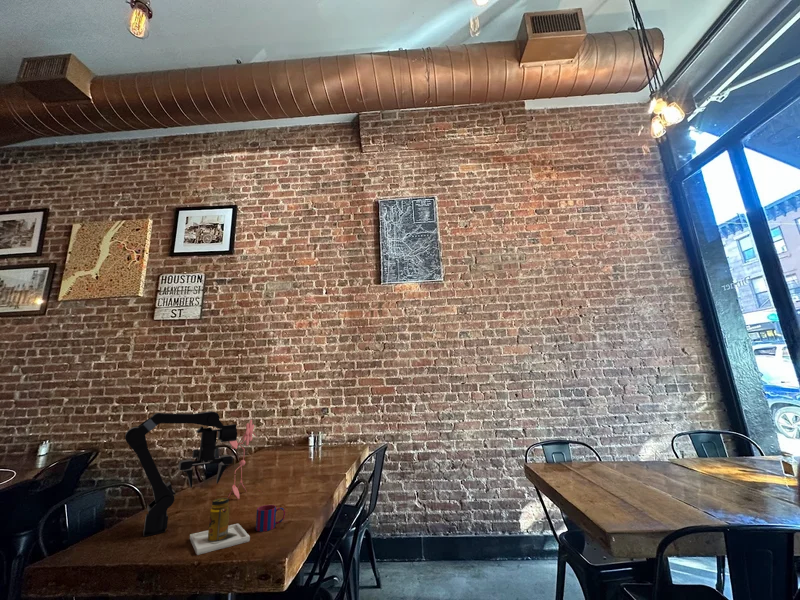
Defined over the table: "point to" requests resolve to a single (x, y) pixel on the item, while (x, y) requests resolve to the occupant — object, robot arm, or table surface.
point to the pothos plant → (234, 444)
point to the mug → (267, 518)
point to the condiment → (219, 521)
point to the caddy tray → (204, 546)
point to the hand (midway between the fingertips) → (204, 485)
